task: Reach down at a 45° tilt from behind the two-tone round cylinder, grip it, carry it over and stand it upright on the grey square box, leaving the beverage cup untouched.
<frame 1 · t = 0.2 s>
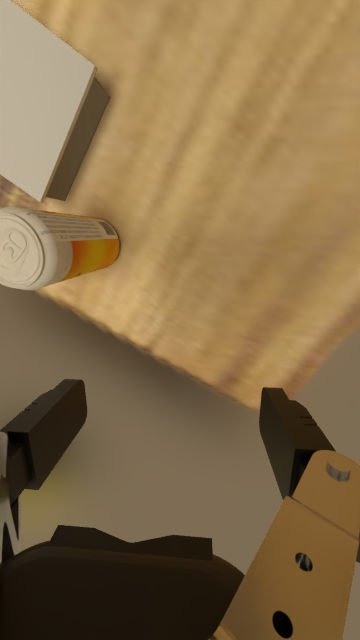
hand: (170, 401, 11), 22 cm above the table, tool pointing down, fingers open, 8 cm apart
grey square box: (40, 119, 28), on the table
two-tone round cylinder: (99, 243, 32), on the table
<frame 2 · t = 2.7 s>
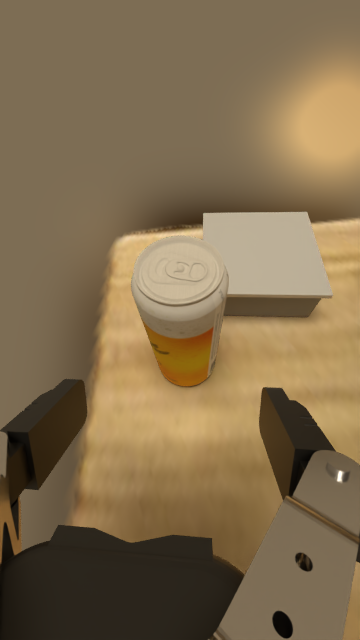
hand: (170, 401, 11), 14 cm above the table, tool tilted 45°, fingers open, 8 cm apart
grey square box: (251, 277, 33), on the table
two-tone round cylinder: (186, 361, 27), on the table
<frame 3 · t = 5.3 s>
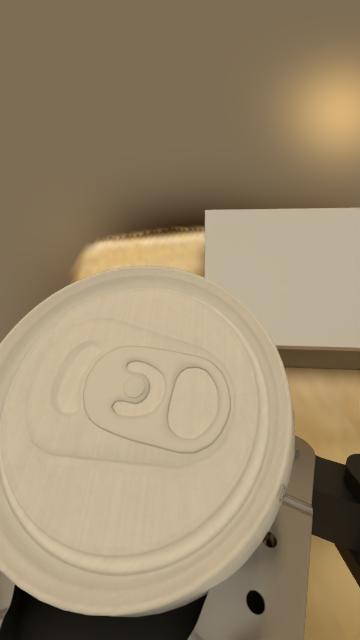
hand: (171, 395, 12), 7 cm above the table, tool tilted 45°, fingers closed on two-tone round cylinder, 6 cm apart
grey square box: (275, 303, 22), on the table
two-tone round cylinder: (179, 446, 17), on the table, touching gripper
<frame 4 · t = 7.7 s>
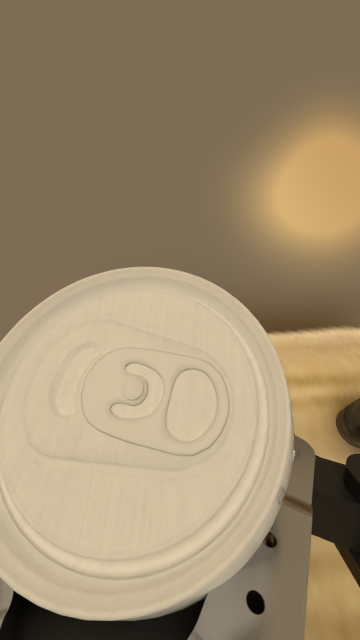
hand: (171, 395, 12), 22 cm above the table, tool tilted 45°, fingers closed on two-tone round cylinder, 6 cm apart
beverage cup: (354, 427, 30), on the table
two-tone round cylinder: (179, 447, 17), point 14 cm above the table, touching gripper
when the fingers open (14 cm above the table, at t = 10.3 s): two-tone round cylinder drops 1 cm, resting on grey square box.
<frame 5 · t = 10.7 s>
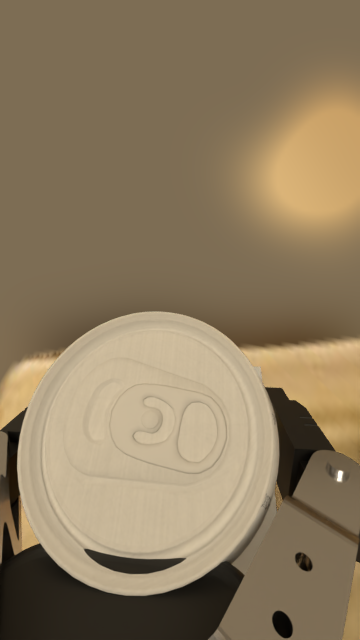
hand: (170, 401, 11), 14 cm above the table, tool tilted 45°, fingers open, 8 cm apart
grey square box: (183, 451, 23), on the table
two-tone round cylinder: (181, 450, 18), point 5 cm above the table, touching grey square box
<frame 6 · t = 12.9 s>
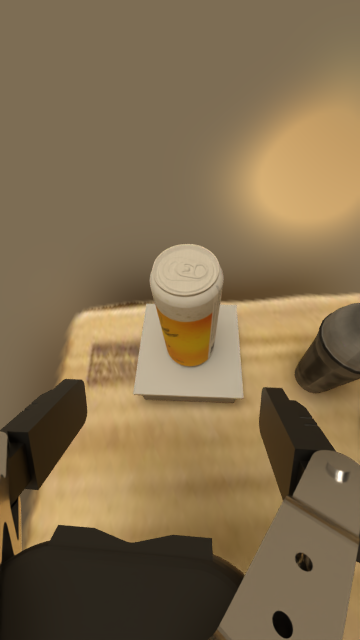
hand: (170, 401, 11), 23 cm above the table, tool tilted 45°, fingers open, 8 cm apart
beverage cup: (311, 377, 35), on the table
grey square box: (190, 359, 37), on the table
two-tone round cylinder: (190, 347, 33), point 5 cm above the table, touching grey square box
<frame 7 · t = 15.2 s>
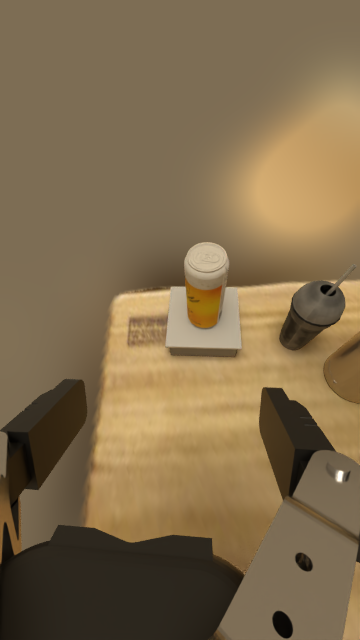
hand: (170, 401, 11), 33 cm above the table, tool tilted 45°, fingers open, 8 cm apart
beverage cup: (291, 339, 48), on the table
grey square box: (202, 328, 50), on the table
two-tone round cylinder: (204, 316, 46), point 5 cm above the table, touching grey square box
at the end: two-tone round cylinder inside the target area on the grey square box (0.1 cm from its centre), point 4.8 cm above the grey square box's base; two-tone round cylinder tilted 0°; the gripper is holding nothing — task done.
